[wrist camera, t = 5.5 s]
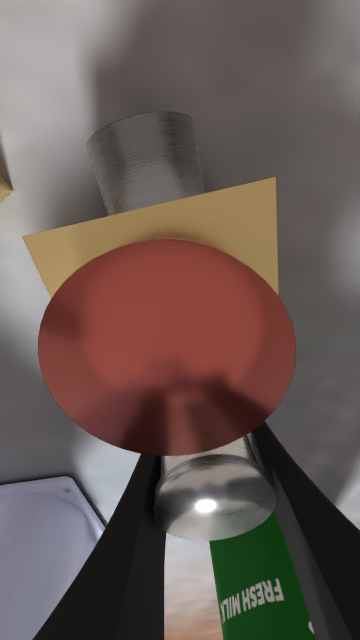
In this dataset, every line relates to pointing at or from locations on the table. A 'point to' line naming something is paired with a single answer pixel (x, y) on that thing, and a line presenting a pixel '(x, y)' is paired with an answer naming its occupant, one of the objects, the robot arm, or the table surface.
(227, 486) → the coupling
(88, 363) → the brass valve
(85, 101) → the table surface
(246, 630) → the milk carton
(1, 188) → the elbow
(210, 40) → the table surface
